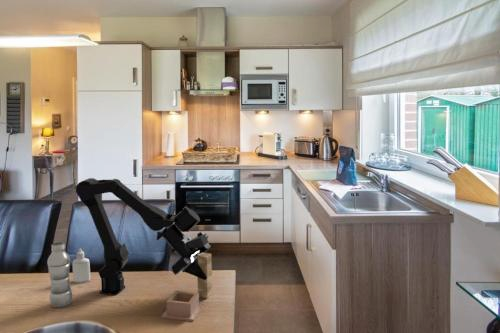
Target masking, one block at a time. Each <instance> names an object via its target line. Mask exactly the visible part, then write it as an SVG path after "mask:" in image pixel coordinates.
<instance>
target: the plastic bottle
mask: <svg viewBox="0 0 500 333" xmlns="http://www.w3.org/2000/svg"><path fill="white" fill-rule="evenodd" d="M65 249H66V246H65V242H64V241H57V242H53V243H52V244H51V251H52V252H51V254H50V255H49V256H48V258H47V260H46V261H47V268H48V272H49V277H50V278H49V279H50V294H49V302H50V305H51V306H53V308H62V307H66V306H68V305H70V304H71V303H72V301H73V298H74V297H73V296H74V294H73V291H72V286H71V281H70V265H71V258H70V255H69V254H68V252H66V251H65Z"/></svg>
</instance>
